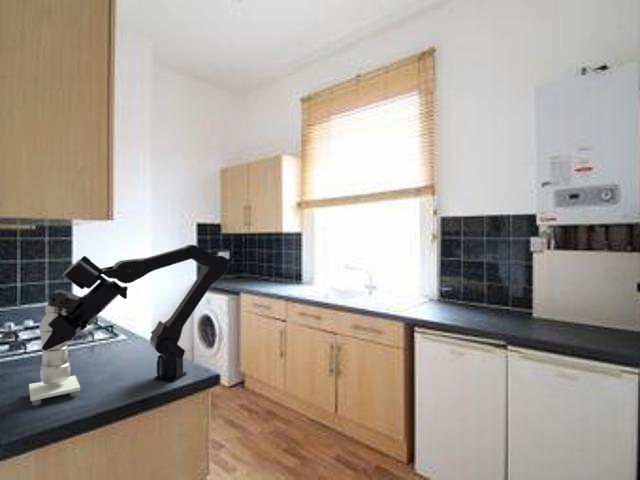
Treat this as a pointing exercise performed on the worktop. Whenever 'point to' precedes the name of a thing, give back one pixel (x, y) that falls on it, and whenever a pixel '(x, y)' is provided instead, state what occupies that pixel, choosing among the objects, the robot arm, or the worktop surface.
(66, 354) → the plastic bottle
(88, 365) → the worktop surface
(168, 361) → the robot arm
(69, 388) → the plate
